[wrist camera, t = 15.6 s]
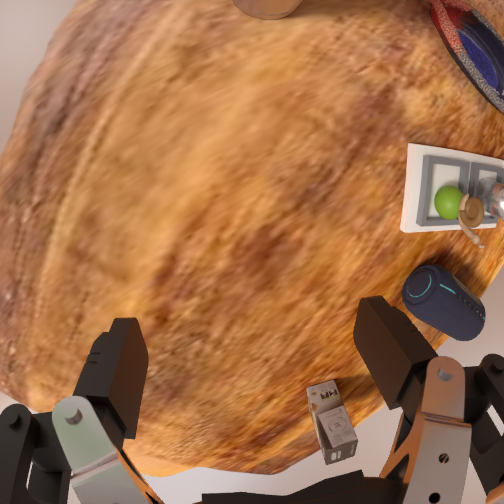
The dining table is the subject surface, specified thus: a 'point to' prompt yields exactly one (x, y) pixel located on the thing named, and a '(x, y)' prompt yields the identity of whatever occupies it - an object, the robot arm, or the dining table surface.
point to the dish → (472, 46)
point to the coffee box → (331, 422)
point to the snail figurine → (460, 210)
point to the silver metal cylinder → (491, 197)
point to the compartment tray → (443, 184)
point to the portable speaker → (443, 302)
